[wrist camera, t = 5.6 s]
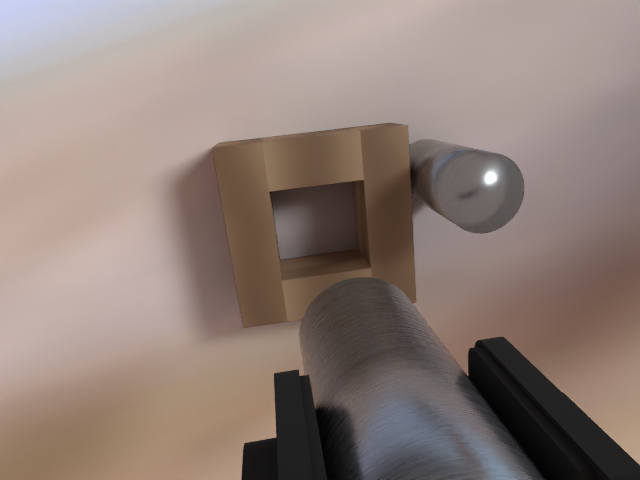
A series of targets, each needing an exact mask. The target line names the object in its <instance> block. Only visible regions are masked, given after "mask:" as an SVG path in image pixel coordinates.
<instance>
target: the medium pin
mask: <svg viewBox="0 0 640 480" xmlns="http://www.w3.org/2000/svg"><path fill="white" fill-rule="evenodd" d="M409 159H410V180H411V197H413V198H415V199H416V200H418V201H419V202H421V203H423V204H424V205H426V206H427V207H429V208H430V209H432V210H434V211H435V212H437V213H438V214H440V215H442V216H443V217H445V218H446V219H448V220H449V221H451V222H453V223H454V224H456V225H457V226H459V227H461V228H462V229H464V230H466V231H469V232H473V233H488V232H492V231H495V230H497V229H499V228H501V227H502V226H504V225H505V224H507V223H508V222H509V221H510V220H511V219H512V218H513V217H514V215H515V214H516V213H517V211H518V209H519V207H520V205H521V203H522V200H523V195H524V181H523V177H522V174H521V171H520V169H519V168H518V166H517V165H516V164H515V163H514V162H513V161H512V160H511V159H509V158H508V157H506V156H503V155H501V154H497V153H492V152H487V151H483V150H478V149H473V148H468V147H463V146H459V145H454V144H449V143H444V142H440V141H435V140H428V139H427V140H420V141H417V142H414V143H412V144H411V145H409Z"/></svg>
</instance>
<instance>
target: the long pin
mask: <svg viewBox="0 0 640 480" xmlns="http://www.w3.org/2000/svg"><path fill="white" fill-rule="evenodd" d="M299 339H300V348H301V354H302V361H303V367H304V373H305V375H309V377H310V383H311V389H312V394H313V400H314V406H315V412H316V418H317V423H318V429H319V435H320V441H321V446H322V452H323V458H324V464H325V470H326V475H327V480H546V478H545V477H544V476H543V474H542V473H541V472H540V470H539V469H538V468H537V466H536V465H535V464H534V462H533V461H532V460H531V459H530V457H529V456H528V455H527V453H526V452H525V451H524V449H523V448H522V447H521V445H520V444H519V443H518V441H517V440H516V439H515V437H514V436H513V435H512V434H511V432H510V431H509V430H508V428H507V427H506V426H505V424H504V423H503V422H502V420H501V419H500V418H499V416H498V415H497V414H496V413H495V411H494V410H493V409H492V407H491V406H490V405H489V403H488V402H487V401H486V399H485V398H484V397H483V395H482V394H481V393H480V391H479V390H478V389H477V388H476V386H475V385H474V384H473V382H472V381H471V380H470V378H469V377H468V376H467V374H466V373H465V372H464V370H463V369H462V368H461V366H460V365H459V364H458V363H457V361H456V360H455V359H454V357H453V356H452V355H451V353H450V352H449V351H448V349H447V348H446V347H445V345H444V344H443V343H442V342H441V340H440V339H439V338H438V336H437V335H436V334H435V332H434V331H433V330H432V328H431V327H430V326H429V324H428V323H427V322H426V320H425V319H424V318H423V317H422V315H421V314H420V313H419V311H418V310H417V309H416V307H415V306H414V305H413V303H412V302H411V301H410V299H409V298H408V297H407V296H406V295H405V293H404V292H402V291H401V290H400V289H399V288H398V287H396V286H394V285H393V284H391V283H389V282H387V281H384V280H381V279H377V278H371V277H357V278H351V279H346V280H343V281H340V282H338V283H336V284H333V285H331V286H330V287H328V288H327V289H325V290H324V291H323V292H321V293H320V294H319V295H318V296H317V297H316V298H315V299H314V300H313V301H312V302H311V304H310V305H309V307H308V308H307V310H306V312H305V314H304V316H303V319H302V322H301V326H300V333H299Z"/></svg>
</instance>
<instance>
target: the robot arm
mask: <svg viewBox="0 0 640 480" xmlns="http://www.w3.org/2000/svg"><path fill="white" fill-rule="evenodd" d="M468 372H469V378H470V380H471V381H472V382H473V384H474V385H475V386H476V388H477V389H478V390H479V391H480V393H481V394H482V395H483V397H484V398H485V399H486V401H487V402H488V403H489V405H490V406H491V407H492V409H493V410H494V411H495V413H496V414H497V415H498V416H499V418H500V419H501V420H502V422H503V423H504V424H505V426H506V427H507V428H508V430H509V431H510V432H511V434H512V435H513V436H514V437H515V439H516V440H517V441H518V443H519V444H520V445H521V447H522V448H523V449H524V451H525V452H526V453H527V455H528V456H529V457H530V459H531V460H532V461H533V462H534V464H535V465H536V466H537V468H538V469H539V470H540V472H541V473H542V474H543V476H544V477H545V478H546V480H640V465H639V464H638V463H637V462H636V461H635V460H634V459H632V458H631V457H630V456H629V455H628V454H627V453H626V452H625V451H624V450H623V449H622V448H621V447H620V446H619V445H618V444H617V443H616V442H615V441H614V440H613V439H611V438H610V437H609V436H608V435H607V434H606V433H605V432H604V431H603V430H602V429H601V428H600V427H599V426H598V425H597V424H596V423H595V422H594V421H593V420H592V419H590V418H589V417H588V416H587V415H586V414H585V413H584V412H583V411H582V410H581V409H580V408H579V407H578V406H577V405H576V404H575V403H574V402H573V401H572V400H571V399H569V398H568V397H567V396H566V395H565V394H564V393H562V392H561V391H560V390H559V389H558V388H557V387H556V386H555V385H553V384H552V383H551V382H550V381H549V380H548V379H547V378H546V377H545V376H544V375H543V374H542V373H541V372H540V371H539V370H538V369H537V368H536V367H535V366H534V365H533V364H532V363H530V362H529V361H528V360H527V359H526V358H525V357H524V356H523V355H522V354H521V353H520V352H519V351H518V350H517V349H516V348H515V347H514V346H513V345H512V344H511V343H510V342H508V341H507V340H506V339H505V338H504V337H496V338H490V339H484V340H478V341H477V342H476V344H475V348H470V349H469V353H468ZM274 386H275V410H276V434H277V438H272V439H266V440H260V441H255V442H249V443H245V444H244V449H243V464H242V480H327V475H326V470H325V464H324V458H323V452H322V446H321V441H320V435H319V429H318V423H317V418H316V412H315V406H314V400H313V394H312V389H311V383H310V377H309V375H304V376H299V370H292V371H286V372H280V373H274Z"/></svg>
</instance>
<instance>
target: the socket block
mask: <svg viewBox="0 0 640 480" xmlns="http://www.w3.org/2000/svg"><path fill="white" fill-rule="evenodd" d="M212 152H213V157H214V163H215V169H216V175H217V180H218V186H219V192H220V197H221V203H222V209H223V214H224V220H225V226H226V231H227V237H228V243H229V249H230V254H231V260H232V266H233V271H234V277H235V283H236V288H237V294H238V300H239V306H240V311H241V317H242V323H243V328H247V327H254V326H261V325H267V324H274V323H281V322H288V321H294V320H301V319H303V316H304V314H305V312H306V310H307V308H308V307H309V305H310V304H311V302H312V301H313V300H314V299H315V298H316V297H317V296H318V295H319V294H320V293H321V292H323V291H324V290H325V289H327V288H328V287H330V286H331V285H333V284H336V283H338V282H340V281H343V280H346V279H351V278H357V277H371V278H377V279H381V280H384V281H387V282H389V283H391V284H393V285H394V286H396V287H398V288H399V289H400V290H401V291H402V292H404V293H405V295H406V296H407V297H408V298H409V299H410V301H411V302H412V303H415V302H416V287H415V265H414V244H413V223H412V201H411V180H410V159H409V137H408V125H401V124H394V123H385V124H377V125H368V126H360V127H351V128H343V129H334V130H326V131H317V132H309V133H300V134H291V135H283V136H274V137H266V138H257V139H249V140H240V141H232V142H223V143H218V144H217V145H216V146H215V147H213V148H212ZM350 181H353V188H354V200H355V212H356V223H357V235H358V247H359V249H356V250H349V251H341V252H334V253H327V254H320V255H313V256H305V257H298V258H291V259H284V260H280V256H279V249H278V242H277V235H276V228H275V221H274V214H273V206H272V199H271V192H270V191H278V190H286V189H294V188H302V187H310V186H318V185H326V184H334V183H342V182H350Z"/></svg>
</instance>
